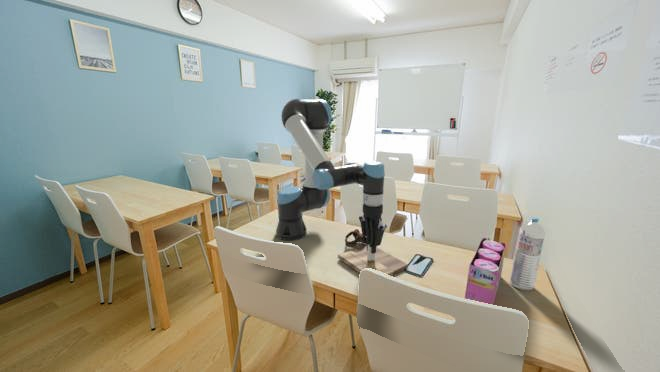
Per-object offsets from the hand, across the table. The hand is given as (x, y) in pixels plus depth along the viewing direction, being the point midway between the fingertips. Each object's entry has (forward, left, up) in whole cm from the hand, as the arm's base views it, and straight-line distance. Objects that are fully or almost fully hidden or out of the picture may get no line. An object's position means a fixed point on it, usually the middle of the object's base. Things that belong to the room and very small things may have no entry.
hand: (371, 259), depth 107 cm
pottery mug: (-15, +6, -3) cm, 16 cm away
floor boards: (0, +6, -2) cm, 6 cm away
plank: (0, -4, -2) cm, 4 cm away
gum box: (+34, +21, -3) cm, 40 cm away
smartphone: (+12, +14, -3) cm, 19 cm away
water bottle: (+41, +32, -2) cm, 52 cm away
